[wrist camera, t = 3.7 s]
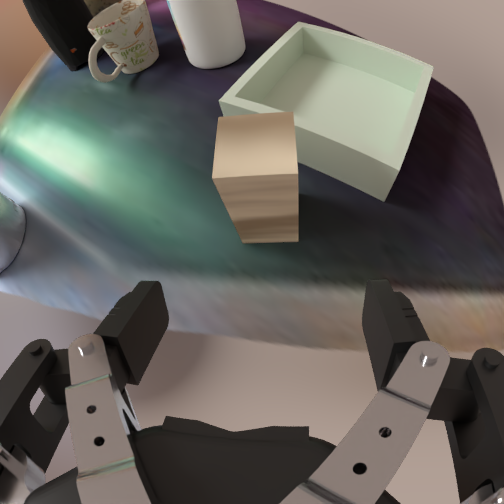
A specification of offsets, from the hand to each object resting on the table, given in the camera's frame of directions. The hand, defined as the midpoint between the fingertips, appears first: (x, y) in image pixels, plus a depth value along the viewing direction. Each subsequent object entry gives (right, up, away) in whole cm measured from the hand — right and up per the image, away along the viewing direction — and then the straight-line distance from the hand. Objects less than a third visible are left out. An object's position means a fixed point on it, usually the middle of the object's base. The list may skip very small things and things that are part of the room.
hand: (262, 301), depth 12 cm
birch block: (+1, +5, +14) cm, 15 cm away
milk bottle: (-5, +28, +23) cm, 37 cm away
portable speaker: (-30, +37, +30) cm, 56 cm away
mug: (-17, +28, +25) cm, 41 cm away
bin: (+8, +16, +17) cm, 25 cm away
